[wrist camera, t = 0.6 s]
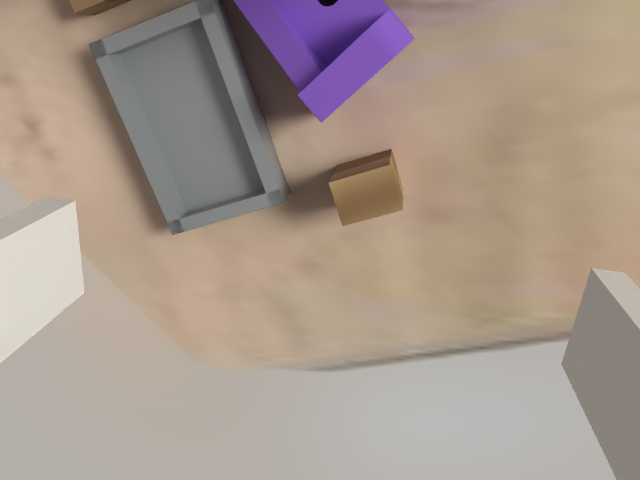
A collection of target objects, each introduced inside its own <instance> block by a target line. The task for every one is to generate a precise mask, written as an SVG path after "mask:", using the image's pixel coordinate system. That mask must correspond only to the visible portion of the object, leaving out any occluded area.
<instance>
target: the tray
mask: <svg viewBox="0 0 640 480" xmlns="http://www.w3.org/2000/svg"><path fill="white" fill-rule="evenodd" d="M89 46H90V48H91V50H92V53H93V55H94V57H95V59H96V62H97V64H98V66H99V69H100V71H101V73H102V75H103V78H104V80H105V82H106V85H107V87H108V89H109V91H110V94H111V96H112V98H113V101H114V103H115V105H116V107H117V110H118V112H119V114H120V116H121V119H122V121H123V123H124V126H125V128H126V130H127V132H128V135H129V137H130V139H131V142H132V144H133V146H134V148H135V151H136V153H137V155H138V157H139V160H140V162H141V164H142V167H143V169H144V171H145V173H146V176H147V178H148V180H149V183H150V185H151V187H152V189H153V192H154V194H155V196H156V199H157V201H158V203H159V205H160V208H161V210H162V212H163V214H164V217H165V219H166V221H167V224H168V226H169V228H170V230H171V233H172V235H174V234H177V233H181V232H184V231H188V230H191V229H195V228H198V227H201V226H205V225H208V224H212V223H215V222H219V221H222V220H226V219H229V218H233V217H236V216H239V215H243V214H246V213H250V212H253V211H257V210H260V209H264V208H267V207H271V206H274V205H277V204H281V203H284V202H285V201H286V199H287V198H288V196H289V195H290V194H291V193H290V190H289V187H288V184H287V182H286V179H285V176H284V173H283V170H282V168H281V165H280V162H279V159H278V156H277V154H276V151H275V148H274V145H273V142H272V140H271V137H270V134H269V131H268V128H267V126H266V123H265V120H264V117H263V114H262V112H261V109H260V106H259V103H258V100H257V98H256V95H255V92H254V89H253V86H252V84H251V81H250V78H249V75H248V72H247V70H246V67H245V64H244V61H243V58H242V56H241V53H240V50H239V47H238V44H237V42H236V39H235V36H234V33H233V30H232V28H231V25H230V22H229V19H228V16H227V14H226V11H225V8H224V5H223V2H222V0H197V1H194V2H192V3H189V4H187V5H184V6H182V7H179V8H177V9H174V10H172V11H170V12H167V13H165V14H162V15H160V16H157V17H155V18H152V19H150V20H148V21H145V22H143V23H140V24H138V25H135V26H133V27H130V28H128V29H125V30H123V31H121V32H118V33H116V34H113V35H111V36H108V37H106V38H103V39H101V40H99V41H96V42H94V43H91V44H89Z"/></svg>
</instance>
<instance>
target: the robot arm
mask: <svg viewBox="0 0 640 480" xmlns="http://www.w3.org/2000/svg"><path fill="white" fill-rule="evenodd" d="M83 293H84V285H83V274H82V264H81V254H80V244H79V234H78V223H77V213H76V203H75V201H74V200H66V199H59V198H51V197H47V198H45V199H43V200H41V201H39V202H37V203H35V204H33V205H31V206H28V207H27V208H24V209H22V210H20V211H18V212H16V213H14V214H12V215H10V216H7V217H6V218H3V219H1V220H0V363H1V362H2V361H3V360H4V359H6V358H7V357H8V356H9V355H10V354H12V353H13V352H14V351H15V350H16V349H18V348H19V347H20V346H21V345H22V344H24V343H25V342H26V341H27V340H28V339H30V338H31V337H32V336H33V335H34V334H35V333H37V332H38V331H39V330H40V329H41V328H43V327H44V326H45V325H46V324H48V322H50V321H51V320H52V319H54V318H55V317H56V316H57V315H58V314H60V313H61V312H62V311H63V310H64V309H66V308H67V307H68V306H69V305H70V304H72V303H73V302H74V301H75V300H76V299H78V298H79V297H80V296H81V295H82V294H83ZM562 366H563V368H564V370H565V372H566V374H567V376H568V378H569V381H570V383H571V384H572V387H573V389H574V391H575V393H576V395H577V397H578V400H579V402H580V404H581V406H582V408H583V410H584V412H585V414H586V416H587V418H588V421H589V423H590V425H591V427H592V429H593V431H594V433H595V435H596V437H597V439H598V441H599V444H600V446H601V448H602V450H603V452H604V454H605V456H606V458H607V460H608V462H609V464H610V467H611V469H612V471H613V473H614V475H615V477H616V479H617V480H640V289H639V288H638V287H637V285H636V284H635V283H634V282H633V281H632V280H631V279H630V278H629V277H628V276H627V275H626V273H624V272H616V271H608V270H601V269H593V268H591V271H590V274H589V277H588V281H587V284H586V287H585V290H584V294H583V297H582V300H581V303H580V306H579V310H578V313H577V316H576V319H575V322H574V326H573V329H572V332H571V335H570V339H569V342H568V345H567V348H566V351H565V355H564V358H563V361H562Z"/></svg>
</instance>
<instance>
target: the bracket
mask: <svg viewBox="0 0 640 480" xmlns="http://www.w3.org/2000/svg"><path fill="white" fill-rule="evenodd" d="M233 1H234V2H235V3H236V5H237V6H238V8H239V9H240V10H241V12H242V13H243V14H244V16H245V17H246V19H247V20H248V21H249V23H250V24H251V25H252V27H253V28H254V30H255V31H256V32H257V34H258V35H259V36H260V38H261V39H262V41H263V42H264V43H265V45H266V46H267V47H268V49H269V50H270V51H271V53H272V54H273V56H274V57H275V58H276V60H277V61H278V62H279V64H280V65H281V67H282V68H283V69H284V71H285V72H286V73H287V75H288V76H289V78H290V79H291V80H292V82H293V83H294V84H295V86H296V87H297V89H298V90H299V91H300V93H299V94H298V96H299V98H300V99H301V100H302V101H303V102H304V103H305V105H306V106H307V107H308V108H309V109H310V110H311V112H312V113H313V114H314V115H315V116H316V117H317V119H318V120H319V121H320V122H323V121H324V120H325V119H326V118H327V117H328V116H329V115H330V114H331V113H333V112H334V111H335V110H336V109H337V108H338V107H339V106H340V105H341V104H343V103H344V102H345V101H346V100H347V99H348V98H349V97H350V96H351V95H353V94H354V93H355V92H356V91H357V90H358V89H359V88H360V87H361V86H363V85H364V84H365V83H366V82H367V81H368V80H369V79H370V78H371V77H373V76H374V75H375V74H376V73H377V72H378V71H379V70H380V69H381V68H383V67H384V66H385V65H386V64H387V63H388V62H389V61H390V60H391V59H393V58H394V57H395V56H396V55H397V54H398V53H399V52H400V51H401V50H403V49H404V48H405V47H406V46H407V45H408V44H409V43H410V42H411V41H412V40H413V39H414V37H413V36H412V34H411V33H410V32H409V31H408V29H407V28H406V27H405V26H404V24H403V23H402V22H401V21H400V19H399V18H398V17H397V16H396V14H395V13H394V12H393V11H392V9H390V8H389V7H388V6H387V5H386V3H385V2H384V1H383V0H338V1H337V2H336V3H335V4H334V5H332V6H323V5H321V4H320V3H319V2H318V0H233Z"/></svg>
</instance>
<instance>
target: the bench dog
mask: <svg viewBox="0 0 640 480" xmlns="http://www.w3.org/2000/svg"><path fill="white" fill-rule="evenodd" d="M329 186H330V189H331V192H332V195H333V198H334V201H335V204H336V207H337V210H338V213H339V216H340V219H341V222H342V225H343V226H345V225H349V224H352V223H356V222H360V221H363V220H367V219H371V218H374V217H378V216H382V215H386V214H389V213H393V212H397V211H400V210H403V188H402V184H401V181H400V177H399V174H398V170H397V167H396V163H395V160H394V157H393V153H392V150H387V151H384V152H381V153H377V154H374V155H371V156H367V157H364V158H361V159H357V160H354V161H351V162H347V163H344V164H341V165H337V167H336V169H335V171H334V173H333V175H332V177H331V179H330V181H329Z"/></svg>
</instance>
